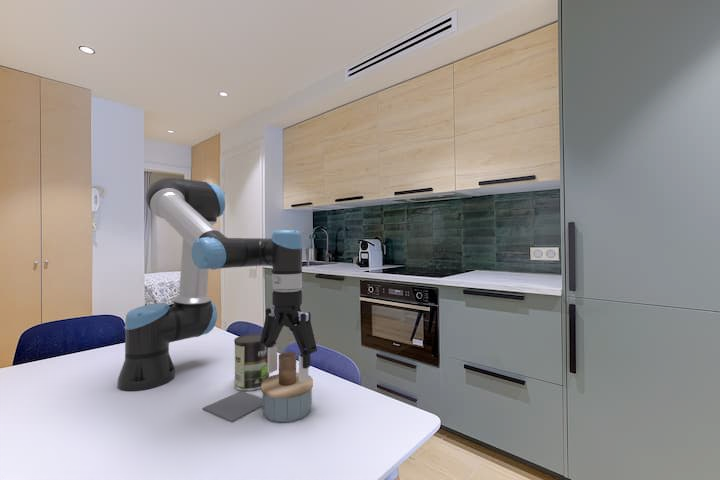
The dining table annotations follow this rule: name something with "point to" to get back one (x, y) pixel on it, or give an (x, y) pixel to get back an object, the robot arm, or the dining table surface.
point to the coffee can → (250, 362)
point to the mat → (235, 406)
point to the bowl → (287, 408)
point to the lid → (286, 380)
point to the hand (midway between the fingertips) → (287, 375)
